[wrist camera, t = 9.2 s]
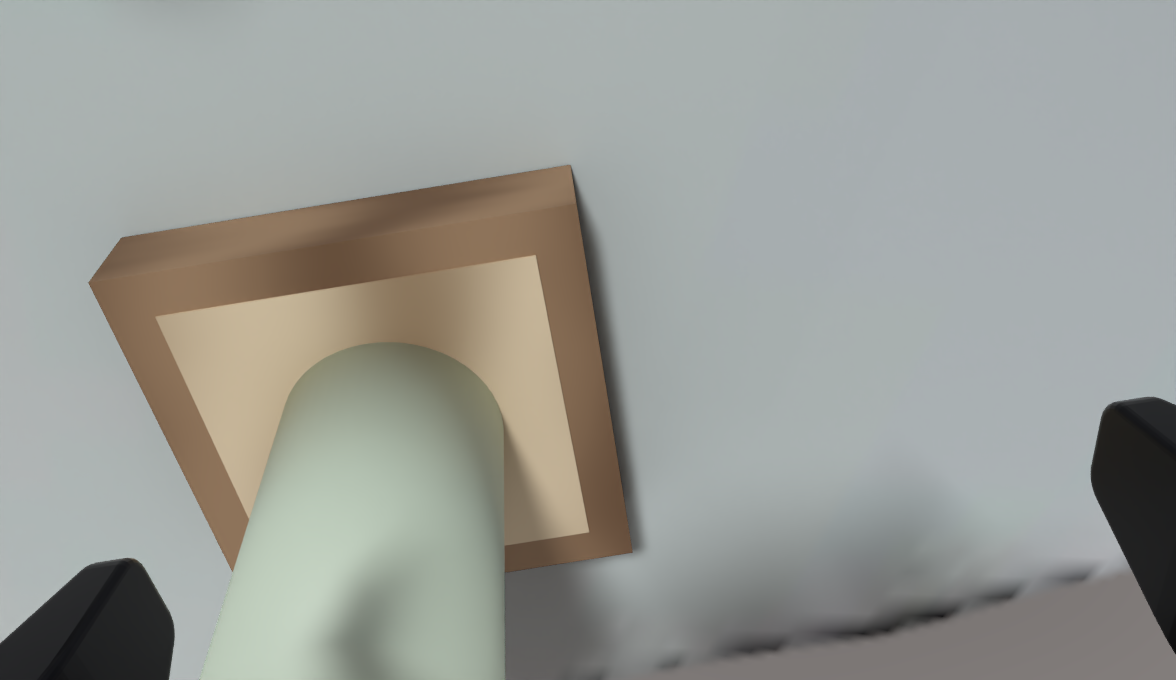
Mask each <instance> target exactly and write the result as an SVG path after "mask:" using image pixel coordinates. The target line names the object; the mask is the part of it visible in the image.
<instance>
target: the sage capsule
mask: <svg viewBox="0 0 1176 680" xmlns="http://www.w3.org/2000/svg"><path fill="white" fill-rule="evenodd" d="M199 680H505V551H504V426H503V419H502V415H501V412H500V409H499V406H498V403H497V401H496V400H495V398H494V396H493V394H492V392H491V391H490V390H489V388H488V387H487V385H486V384H485V383H484V382H483V381H482V380H481V379H480V378H479V377H478V376H477V375H476V374H475V373H474V372H473V371H471V370H470V369H469V368H468V367H467V366H465V365H463V364H462V363H460V362H459V361H457V360H455V359H454V358H452V357H450V356H448V355H445V354H443V353H441V352H438V351H436V350H433V349H430V348H427V347H422V346H418V345H414V344H407V343H398V342H378V343H369V344H362V345H358V346H353V347H350V348H347V349H344V350H341V351H338V352H336V353H334V354H332V355H330V356H328V357H325V358H324V359H322V360H321V361H319V362H318V363H316V364H315V365H313V366H312V367H311V368H310V369H309V370H308V371H306V372H305V373H304V374H303V375H302V376H301V378H300V379H299V380H298V381H297V382H296V384H295V385H294V387H293V389H292V390H291V392H290V394H289V396H288V398H287V401H286V404H285V406H284V410H283V413H282V416H281V419H280V422H279V426H278V429H277V432H276V435H275V438H274V442H273V445H272V448H271V451H270V455H269V458H268V461H267V464H266V467H265V471H264V474H263V477H262V480H261V483H260V487H259V490H258V493H257V496H256V499H255V503H254V506H253V509H252V512H251V515H250V519H249V522H248V525H247V528H246V531H245V535H244V538H243V541H242V544H241V547H240V551H239V554H238V557H237V560H236V563H235V567H234V570H233V573H232V576H231V579H230V583H229V586H228V589H227V592H226V595H225V599H224V602H223V605H222V608H221V611H220V615H219V618H218V621H217V624H216V627H215V631H214V634H213V637H212V640H211V644H210V647H209V650H208V653H207V656H206V660H205V663H204V666H203V669H202V672H201V676H200V679H199Z"/></svg>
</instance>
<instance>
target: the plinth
mask: <svg viewBox="0 0 1176 680" xmlns="http://www.w3.org/2000/svg"><path fill="white" fill-rule="evenodd" d="M89 285H90V287H91V289H92V291H93V293H94V295H95V297H96V299H97V301H98V303H99V305H100V307H101V309H102V311H103V313H104V315H105V317H106V319H107V321H108V323H109V325H110V327H111V329H112V331H113V333H114V335H115V337H116V339H117V341H118V343H119V345H120V347H121V349H122V351H123V353H124V355H125V357H126V359H127V361H128V363H129V365H130V367H131V369H132V371H133V373H134V375H135V377H136V379H137V381H138V383H139V385H140V387H141V389H142V391H143V393H144V395H145V397H146V399H147V401H148V403H149V405H150V407H151V409H152V411H153V413H154V415H155V417H156V419H157V421H158V423H159V425H160V427H161V429H162V431H163V433H164V435H165V437H166V439H167V441H168V443H169V445H170V447H171V449H172V451H173V453H174V455H175V458H176V460H177V462H178V464H179V466H180V468H181V470H182V472H183V474H184V476H185V478H186V480H187V482H188V484H189V486H190V488H191V490H192V492H193V494H194V496H195V498H196V500H197V502H198V504H199V506H200V508H201V510H202V512H203V514H204V516H205V518H206V520H207V522H208V524H209V526H210V528H211V530H212V532H213V534H214V536H215V538H216V540H217V542H218V544H219V546H220V548H221V550H222V552H223V554H224V556H225V558H226V560H227V562H228V564H229V566H230V568H231V570H232V572H233V570H234V567H235V563H236V560H237V557H238V554H239V551H240V547H241V544H242V541H243V538H244V535H245V531H246V528H247V525H248V522H249V519H250V515H251V512H252V509H253V506H254V503H255V499H256V496H257V493H258V490H259V487H260V483H261V480H262V477H263V474H264V471H265V467H266V464H267V461H268V458H269V455H270V451H271V448H272V445H273V442H274V438H275V435H276V432H277V429H278V426H279V422H280V419H281V416H282V413H283V410H284V406H285V404H286V401H287V398H288V396H289V394H290V392H291V390H292V389H293V387H294V385H295V384H296V382H297V381H298V380H299V379H300V378H301V376H302V375H303V374H304V373H305V372H306V371H308V370H309V369H310V368H311V367H312V366H313V365H315V364H316V363H318V362H319V361H321V360H322V359H324V358H325V357H328V356H330V355H332V354H334V353H336V352H338V351H341V350H344V349H347V348H350V347H353V346H358V345H362V344H369V343H378V342H398V343H407V344H414V345H418V346H422V347H427V348H430V349H433V350H436V351H438V352H441V353H443V354H445V355H448V356H450V357H452V358H454V359H455V360H457V361H459V362H460V363H462V364H463V365H465V366H467V367H468V368H469V369H470V370H471V371H473V372H474V373H475V374H476V375H477V376H478V377H479V378H480V379H481V380H482V381H483V382H484V383H485V384H486V385H487V387H488V388H489V390H490V391H491V392H492V394H493V396H494V398H495V400H496V401H497V403H498V406H499V409H500V412H501V415H502V419H503V426H504V551H505V572H512V571H518V570H525V569H531V568H537V567H544V566H550V565H556V564H563V563H569V562H575V561H582V560H588V559H594V558H601V557H607V556H613V555H620V554H626V553H633V552H632V546H631V539H630V533H629V527H628V520H627V514H626V508H625V502H624V495H623V489H622V483H621V477H620V470H619V464H618V458H617V452H616V446H615V439H614V433H613V427H612V421H611V415H610V408H609V402H608V396H607V390H606V383H605V377H604V371H603V365H602V359H601V352H600V346H599V340H598V334H597V328H596V321H595V315H594V309H593V303H592V296H591V290H590V284H589V278H588V272H587V265H586V259H585V253H584V247H583V241H582V234H581V228H580V222H579V216H578V209H577V203H576V197H575V191H574V185H573V178H572V172H571V166H570V165H566V166H560V167H554V168H548V169H542V170H535V171H529V172H523V173H517V174H511V175H505V176H498V177H492V178H486V179H480V180H474V181H468V182H462V183H455V184H449V185H443V186H437V187H431V188H425V189H418V190H412V191H406V192H400V193H394V194H388V195H382V196H375V197H369V198H363V199H357V200H351V201H345V202H338V203H332V204H326V205H320V206H314V207H308V208H302V209H295V210H289V211H283V212H277V213H271V214H265V215H258V216H252V217H246V218H240V219H234V220H228V221H221V222H215V223H209V224H203V225H197V226H191V227H185V228H178V229H172V230H166V231H160V232H154V233H148V234H141V235H135V236H129V237H123V238H121V239H120V240H119V242H118V243H117V244H116V246H115V247H114V248H113V250H112V251H111V253H110V254H109V255H108V257H107V258H106V259H105V261H104V262H103V263H102V265H101V266H100V268H99V269H98V270H97V272H96V273H95V274H94V276H93V277H92V279H91V280H90V281H89Z"/></svg>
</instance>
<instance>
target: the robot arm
mask: <svg viewBox="0 0 1176 680" xmlns="http://www.w3.org/2000/svg"><path fill="white" fill-rule="evenodd" d="M1091 483H1092V487H1093V491H1094V494H1095V496H1096V498H1097V501H1098V503H1099V505H1100V507H1101V509H1102V511H1103V513H1104V515H1105V517H1106V519H1107V521H1108V523H1109V525H1110V527H1111V529H1112V531H1113V533H1114V535H1115V537H1116V539H1117V541H1118V543H1119V545H1120V547H1121V549H1122V551H1123V553H1124V555H1125V557H1126V559H1127V561H1128V564H1129V566H1130V568H1131V570H1132V572H1133V574H1134V576H1135V578H1136V580H1137V582H1138V584H1139V586H1140V588H1141V590H1142V592H1143V594H1144V596H1145V598H1146V600H1147V602H1148V604H1149V606H1150V608H1151V610H1152V612H1153V614H1154V616H1155V618H1156V620H1157V622H1158V624H1159V626H1160V627H1161V630H1162V631H1163V633H1164V635H1165V637H1166V639H1167V641H1168V642H1169V644H1170V646H1171V647H1172V649H1173V651H1174V652H1175V654H1176V405H1174V404H1172V403H1170V402H1168V401H1165V400H1163V399H1160V398H1157V397H1143V398H1136V399H1130V400H1124V401H1117V402H1113V403H1111V404H1109V405H1108V406H1107V407H1106V408H1105V410H1104V411H1103V414H1102V417H1101V421H1100V426H1099V431H1098V436H1097V441H1096V445H1095V450H1094V455H1093V460H1092V465H1091ZM174 638H175V634H174V624H173V620H172V617H171V614H170V612H169V610H168V608H167V607H166V605H165V603H164V601H163V600H162V598H161V596H160V594H159V593H158V591H157V589H156V587H155V586H154V584H153V582H152V580H151V578H150V577H149V575H148V573H147V571H146V570H145V568H144V567H143V565H142V564H141V563H140V562H138V561H137V560H135V559H132V558H123V559H117V560H110V561H104V562H98V563H94V564H91V565H89V566H87V567H85V568H84V569H83V570H81V571H80V572H79V573H78V574H77V575H76V576H75V577H73V578H72V579H71V580H70V581H69V582H68V583H67V584H66V585H65V586H63V587H62V588H61V589H60V590H59V591H58V592H57V593H56V594H55V595H53V596H52V597H51V598H50V599H49V600H48V601H47V602H46V603H45V604H43V605H42V606H41V607H40V608H39V609H38V610H37V611H36V612H35V613H33V614H32V615H31V616H30V617H29V618H28V619H27V620H26V621H25V622H24V623H22V624H21V625H20V626H19V627H18V628H17V629H16V630H15V631H14V632H12V633H11V634H10V635H9V636H8V637H7V638H6V639H5V640H4V641H2V642H1V643H0V680H169V675H170V668H171V661H172V654H173V647H174Z"/></svg>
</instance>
